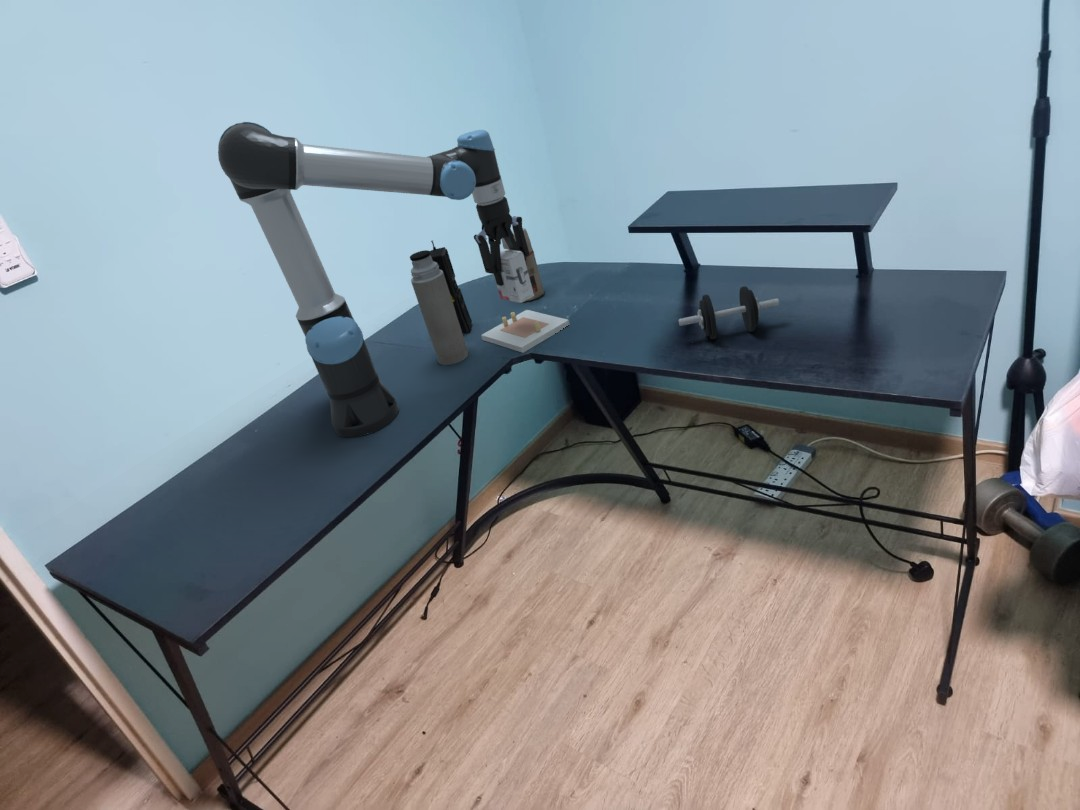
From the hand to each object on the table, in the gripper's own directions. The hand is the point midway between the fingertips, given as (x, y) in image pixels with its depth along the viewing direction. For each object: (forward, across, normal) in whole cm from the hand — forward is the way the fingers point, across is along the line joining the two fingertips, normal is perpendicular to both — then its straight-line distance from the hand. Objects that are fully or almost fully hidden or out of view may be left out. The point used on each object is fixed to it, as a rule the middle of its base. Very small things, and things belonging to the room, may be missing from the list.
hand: (515, 291), depth 178 cm
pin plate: (+12, 0, 0) cm, 12 cm away
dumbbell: (+12, +20, -49) cm, 54 cm away
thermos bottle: (+12, -18, +8) cm, 23 cm away
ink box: (+2, 0, 0) cm, 2 cm away
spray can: (+12, +17, +18) cm, 27 cm away
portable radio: (+12, -7, +20) cm, 24 cm away
